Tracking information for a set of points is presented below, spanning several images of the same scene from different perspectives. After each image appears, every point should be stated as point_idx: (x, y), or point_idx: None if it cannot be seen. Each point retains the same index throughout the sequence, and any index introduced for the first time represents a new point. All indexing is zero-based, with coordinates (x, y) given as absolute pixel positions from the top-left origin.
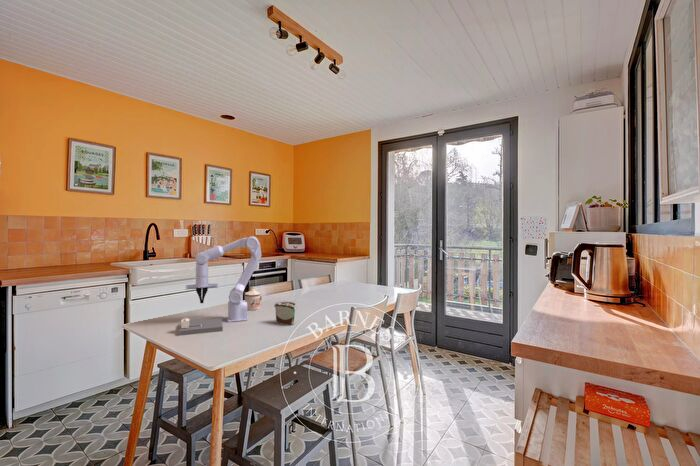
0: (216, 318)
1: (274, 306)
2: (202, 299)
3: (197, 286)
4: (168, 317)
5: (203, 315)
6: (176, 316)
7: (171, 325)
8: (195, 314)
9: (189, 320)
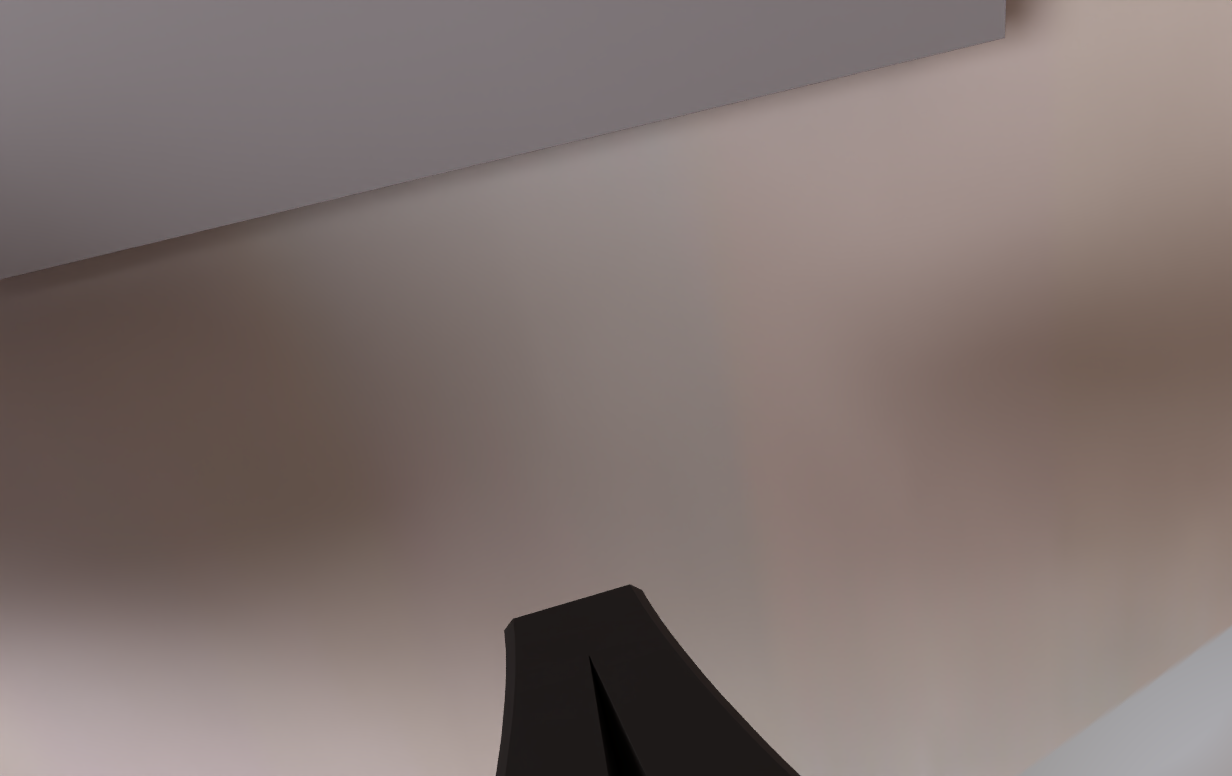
0: None
1: None
2: (574, 738)
3: None
4: (1180, 582)
5: None
6: (1052, 640)
7: (1154, 12)
8: None
9: (788, 53)
